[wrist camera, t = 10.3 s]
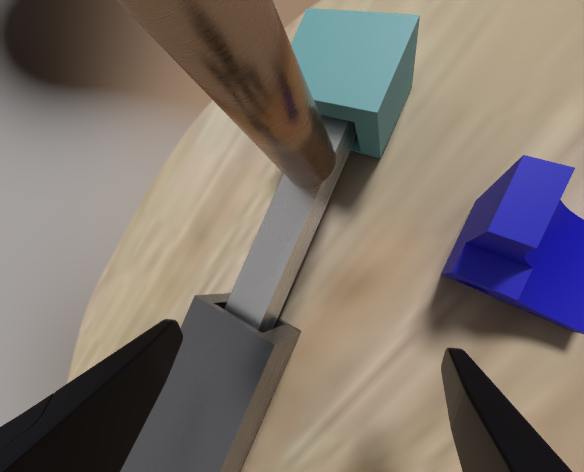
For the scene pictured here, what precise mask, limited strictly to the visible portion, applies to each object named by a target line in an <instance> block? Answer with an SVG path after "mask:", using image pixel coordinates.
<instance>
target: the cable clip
mask: <svg viewBox="0 0 584 472" xmlns="http://www.w3.org/2000/svg"><path fill="white" fill-rule="evenodd" d="M574 169H575V168H574V167H570V166H565V165H561V164H557V163H553V162H549V161H545V160H541V159H537V158H533V157H529V156H525V155H523V156H522V157H521V158H520V159H519V160H518V161H517V162H516V163H515V164H514V165H513V166H512V167H511V168H510V169H508V170H507V171H506V172H505V173H504V174H503V175H502V176H501V177H500V178H499V179H498V180H497V181H496V182H495V183H494V184H493V185H492V186H491V187H490V188H489V189H488V190H487V191H486V192H485V193H484V194H482V195H481V196H480V197H479V198H478V199H477V200H476V201H475V204H474V206H473V208H472V210H471V212H470V214H469V216H468V218H467V220H466V222H465V225H464V227H463V229H462V231H461V233H460V235H459V237H458V239H457V241H456V244H455V246H454V248H453V250H452V252H451V254H450V256H449V258H448V260H447V263H446V265H445V267H444V269H443V271H442V273H441V274H442V275H444V276H446V277H449V278H451V279H453V280H456V281H458V282H460V283H463V284H465V285H467V286H469V287H472V288H474V289H476V290H479V291H481V292H483V293H486V294H488V295H490V296H493V297H495V298H497V299H500V300H502V301H504V302H507V303H509V304H511V305H513V306H516V307H518V308H520V309H523V310H525V311H527V312H530V313H532V314H534V315H537V316H539V317H541V318H544V319H546V320H548V321H551V322H553V323H555V324H557V325H560V326H562V327H564V328H567V329H569V330H571V331H574V332H578V333H581V334H584V220H583V219H582V218H580V217H578V216H577V215H575V214H574V213H573V212H571V211H570V210H569V209H568V208H567V207H566V206H565V205H564V204H563V203H562V201H561V200H560V199H561V197H562V194H563V192H564V190H565V188H566V186H567V184H568V182H569V180H570V178H571V175H572V173H573V171H574Z"/></svg>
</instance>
